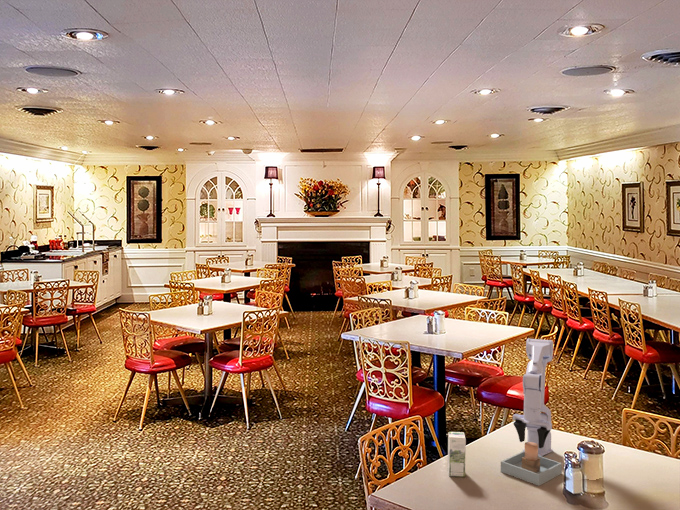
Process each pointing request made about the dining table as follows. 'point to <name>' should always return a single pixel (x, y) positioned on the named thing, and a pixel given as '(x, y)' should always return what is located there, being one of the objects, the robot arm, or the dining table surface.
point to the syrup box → (456, 454)
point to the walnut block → (531, 465)
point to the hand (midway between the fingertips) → (531, 444)
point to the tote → (515, 469)
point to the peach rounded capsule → (531, 451)
